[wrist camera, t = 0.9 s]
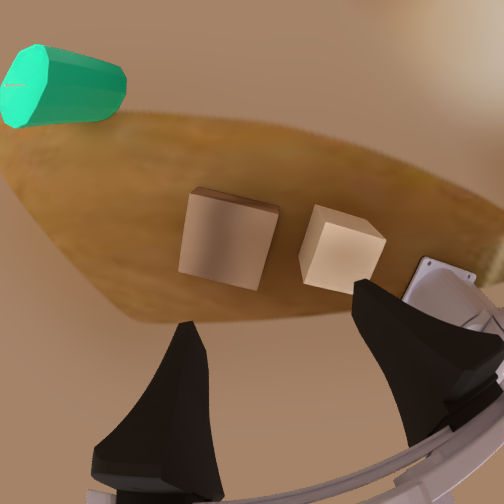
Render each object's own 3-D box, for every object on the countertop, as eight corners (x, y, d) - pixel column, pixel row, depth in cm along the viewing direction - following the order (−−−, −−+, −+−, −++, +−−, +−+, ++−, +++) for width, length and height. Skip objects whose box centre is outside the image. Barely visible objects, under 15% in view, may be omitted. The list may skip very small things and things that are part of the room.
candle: (139, 83, 19) (46, 61, 8) (100, 134, 21) (3, 149, 10) (103, 52, 18) (14, 28, 7) (68, 101, 20) (-24, 105, 9)
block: (366, 219, 23) (386, 240, 19) (347, 268, 25) (361, 296, 21) (314, 203, 23) (325, 221, 18) (298, 255, 25) (303, 283, 20)
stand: (277, 206, 23) (278, 214, 21) (258, 276, 26) (256, 290, 24) (197, 187, 23) (189, 193, 21) (186, 259, 26) (178, 271, 23)
